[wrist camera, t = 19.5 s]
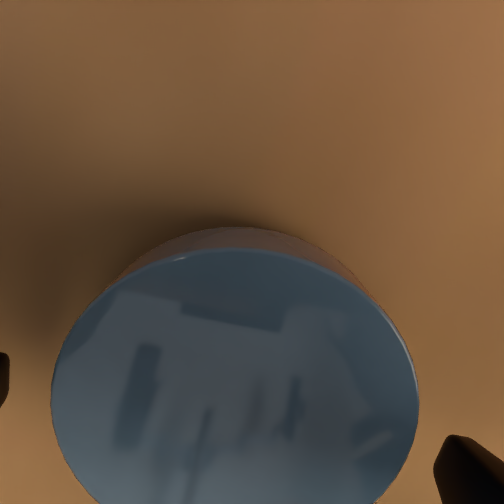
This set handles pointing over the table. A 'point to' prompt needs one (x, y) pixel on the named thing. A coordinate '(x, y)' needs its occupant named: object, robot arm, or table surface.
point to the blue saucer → (235, 379)
